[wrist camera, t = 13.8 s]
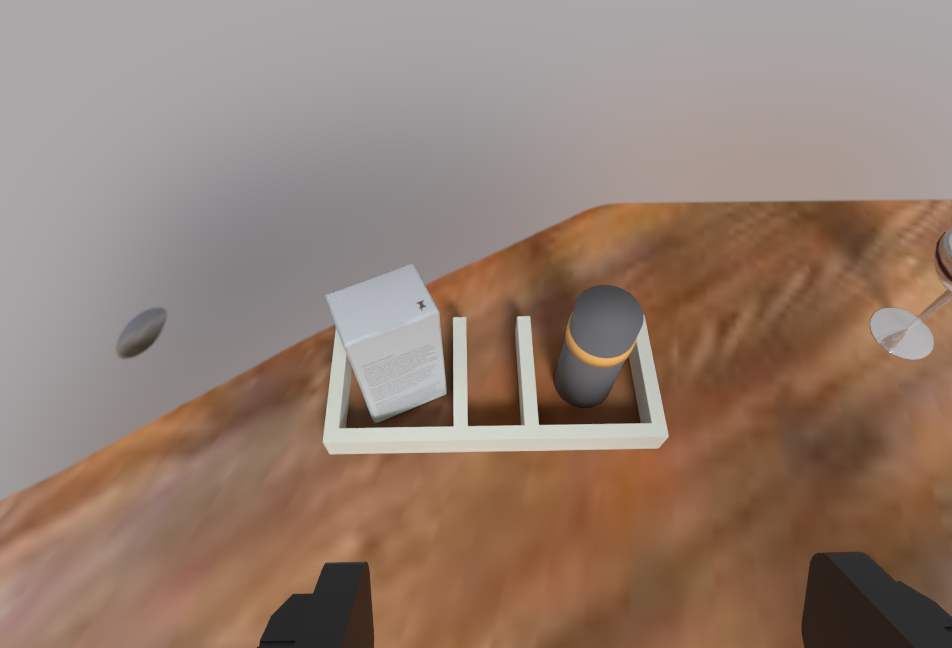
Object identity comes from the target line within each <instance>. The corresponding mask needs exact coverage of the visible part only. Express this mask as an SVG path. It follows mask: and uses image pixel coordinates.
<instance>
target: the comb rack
mask: <svg viewBox="0 0 952 648" xmlns="http://www.w3.org/2000/svg"><path fill="white" fill-rule="evenodd" d="M643 317H644V319H643V325H642V328H641V330H640V332H639V334H638V336H637V341H636V343H635V345H634V347H633V349H632V351H631V353H630V355H629V361H630V366H631V372H632V377H633V383H634V389H635V394H636V400H637V406H638V411H639V417H640V423H635V424H574V425H539V420H538V407H537V395H536V383H535V371H534V359H533V347H532V335H531V323H530V316H517V321H516V329H515V341H516V356H517V371H518V387H519V402H520V417H521V425H514V426H468V407H467V347H466V317H453V413H454V427H393V428H346V426H347V415H348V405H349V394H350V384H351V374H352V366H351V364H350V361H349V359H348V356H347V354H346V352H345V349H344V347H343V345H342V342H341V339H340V337H339V334H338V332H337V329H336V332H335V341H334V349H333V358H332V367H331V375H330V384H329V392H328V401H327V410H326V418H325V427H324V436H323V444H324V445H325V447H326V449H327V450H328V452H329V454H374V453H431V452H488V451H545V450H602V449H659V447H660V446H661V445H662V444H663V443H664V442H665V440H666V439H667V438H668V437H669V436H668V431H667V426H666V421H665V416H664V411H663V406H662V401H661V396H660V391H659V386H658V381H657V376H656V371H655V366H654V361H653V356H652V351H651V346H650V341H649V336H648V331H647V326H646V321H645V316H644V315H643Z"/></svg>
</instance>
